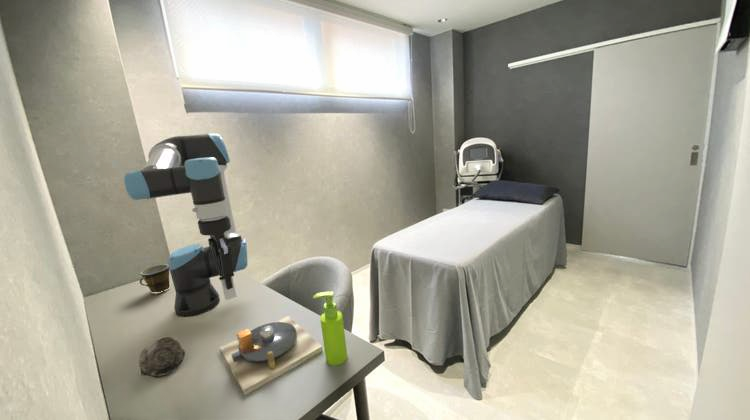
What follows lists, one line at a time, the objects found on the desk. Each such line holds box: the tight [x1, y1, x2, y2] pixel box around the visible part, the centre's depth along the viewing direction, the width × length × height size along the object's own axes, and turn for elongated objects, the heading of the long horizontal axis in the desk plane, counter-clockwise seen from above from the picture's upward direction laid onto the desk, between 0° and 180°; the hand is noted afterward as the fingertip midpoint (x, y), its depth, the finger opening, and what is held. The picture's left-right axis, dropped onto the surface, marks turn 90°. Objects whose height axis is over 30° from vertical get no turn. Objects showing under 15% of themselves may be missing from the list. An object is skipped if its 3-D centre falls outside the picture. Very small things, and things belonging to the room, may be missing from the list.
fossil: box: [138, 335, 186, 379], centre depth 89 cm, size 11×9×10 cm
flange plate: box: [231, 321, 297, 363], centre depth 90 cm, size 18×16×6 cm
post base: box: [219, 315, 323, 396], centre depth 92 cm, size 22×22×6 cm
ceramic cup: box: [139, 263, 170, 293], centre depth 134 cm, size 13×10×10 cm
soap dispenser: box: [312, 291, 348, 366], centre depth 85 cm, size 6×7×20 cm
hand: (230, 297), depth 89 cm, fingers closed
